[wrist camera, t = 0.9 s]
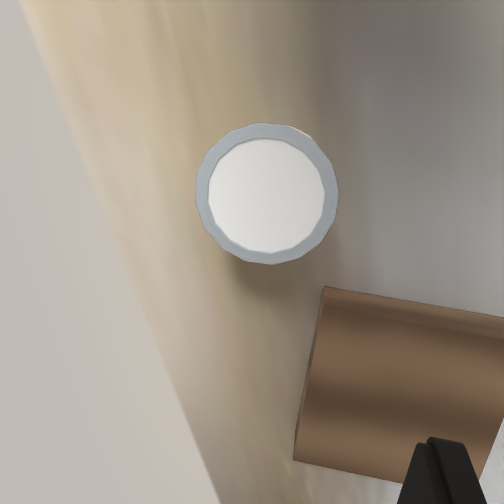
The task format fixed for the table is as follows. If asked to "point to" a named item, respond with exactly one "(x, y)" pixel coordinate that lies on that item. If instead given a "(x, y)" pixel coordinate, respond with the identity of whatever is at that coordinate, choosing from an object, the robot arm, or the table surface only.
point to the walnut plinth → (398, 383)
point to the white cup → (267, 193)
